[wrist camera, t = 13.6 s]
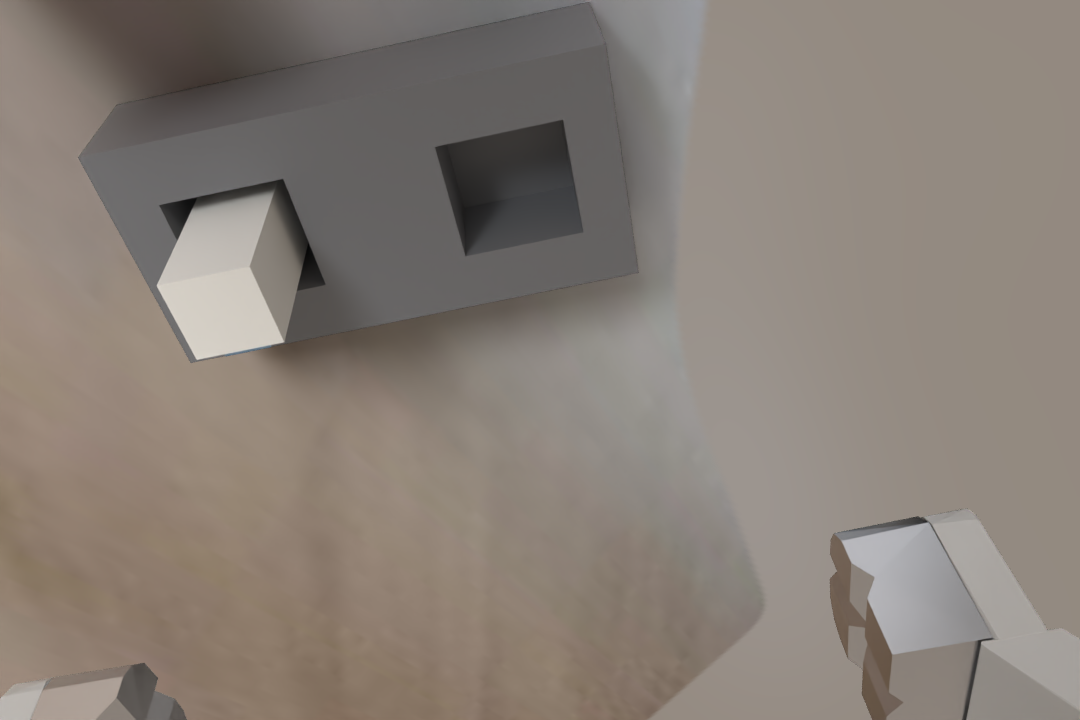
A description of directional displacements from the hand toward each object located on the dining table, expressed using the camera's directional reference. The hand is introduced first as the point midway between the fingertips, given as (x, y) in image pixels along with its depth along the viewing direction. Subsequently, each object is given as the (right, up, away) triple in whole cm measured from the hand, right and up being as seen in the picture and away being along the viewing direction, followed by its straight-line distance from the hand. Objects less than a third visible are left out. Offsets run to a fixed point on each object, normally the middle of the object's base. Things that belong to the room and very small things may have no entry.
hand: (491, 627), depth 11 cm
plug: (-12, +10, +29) cm, 33 cm away
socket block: (-6, +12, +30) cm, 33 cm away
